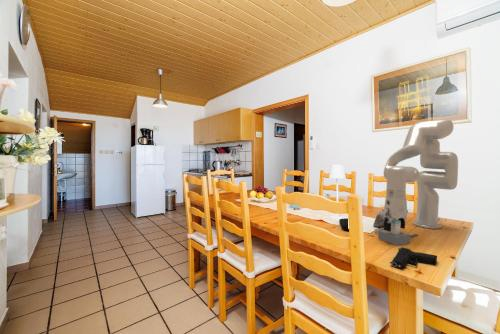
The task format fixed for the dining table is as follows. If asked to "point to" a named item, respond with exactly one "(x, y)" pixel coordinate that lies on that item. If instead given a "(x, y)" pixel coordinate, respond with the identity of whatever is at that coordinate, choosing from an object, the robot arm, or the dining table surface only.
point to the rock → (379, 220)
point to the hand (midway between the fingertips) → (394, 229)
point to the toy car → (344, 224)
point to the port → (394, 237)
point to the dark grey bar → (413, 235)
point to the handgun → (412, 258)
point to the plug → (395, 226)
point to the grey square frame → (378, 230)
